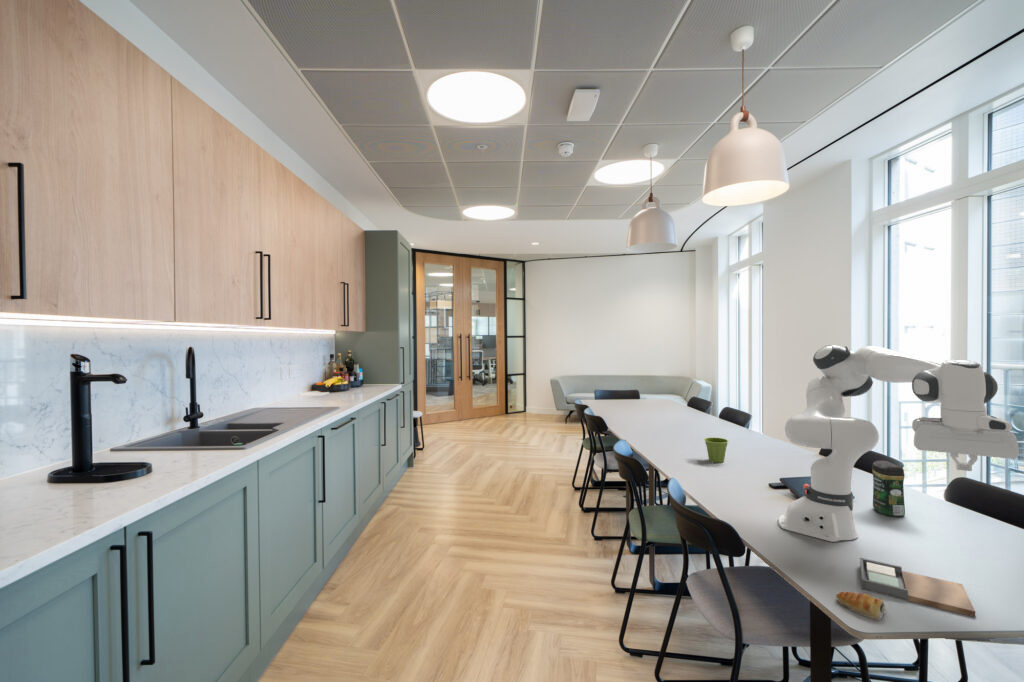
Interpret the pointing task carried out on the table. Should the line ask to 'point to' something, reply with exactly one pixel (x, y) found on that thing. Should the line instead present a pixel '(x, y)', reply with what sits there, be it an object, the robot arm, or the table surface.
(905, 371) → the robot arm
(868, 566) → the tile cream
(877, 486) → the coffee jar
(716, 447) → the plant pot
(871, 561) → the tray
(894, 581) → the tile sage
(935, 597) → the board
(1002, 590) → the table surface
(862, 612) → the pastry
